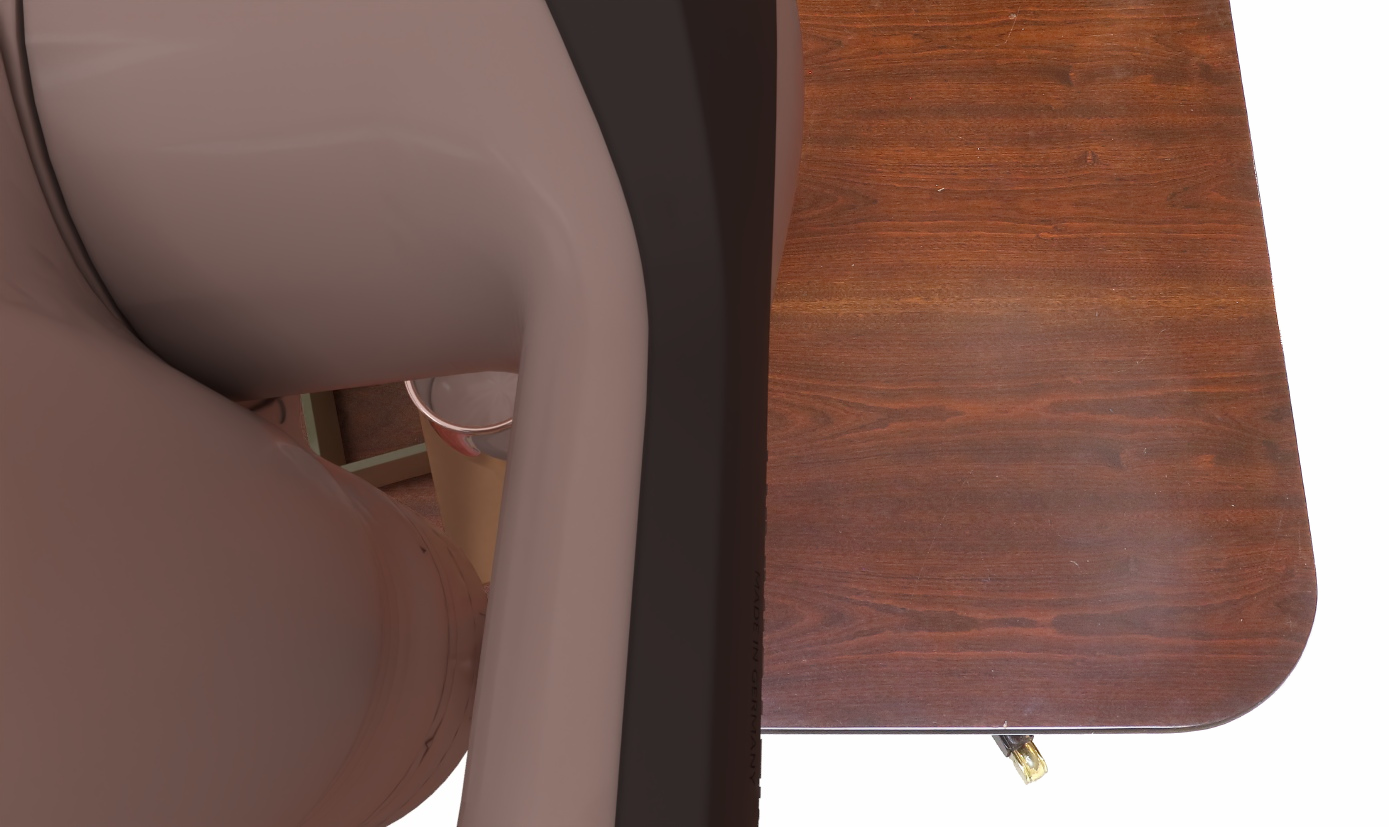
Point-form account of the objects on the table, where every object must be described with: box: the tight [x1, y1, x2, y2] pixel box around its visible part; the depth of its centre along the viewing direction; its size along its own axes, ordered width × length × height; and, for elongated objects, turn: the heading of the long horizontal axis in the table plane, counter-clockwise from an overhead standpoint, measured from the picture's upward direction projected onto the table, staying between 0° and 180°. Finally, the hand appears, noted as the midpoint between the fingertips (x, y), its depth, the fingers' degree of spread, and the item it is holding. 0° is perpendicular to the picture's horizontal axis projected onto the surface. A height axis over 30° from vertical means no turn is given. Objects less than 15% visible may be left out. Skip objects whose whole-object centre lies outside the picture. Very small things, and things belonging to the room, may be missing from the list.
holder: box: [300, 390, 432, 489], centre depth 80 cm, size 12×12×6 cm
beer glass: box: [403, 372, 518, 486], centre depth 46 cm, size 7×7×15 cm
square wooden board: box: [417, 408, 503, 588], centre depth 54 cm, size 13×13×1 cm
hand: (453, 671), depth 36 cm, fingers open, 8 cm apart
